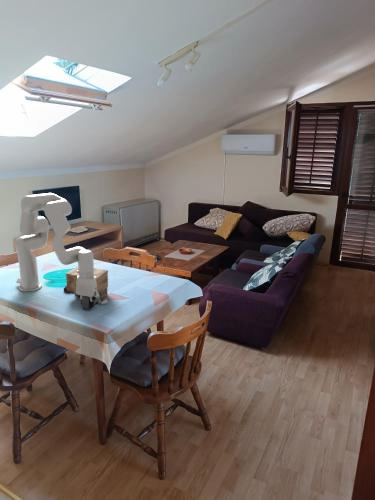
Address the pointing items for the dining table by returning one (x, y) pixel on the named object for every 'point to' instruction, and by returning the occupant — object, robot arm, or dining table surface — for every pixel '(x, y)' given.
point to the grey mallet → (87, 302)
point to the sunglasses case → (68, 291)
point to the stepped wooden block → (100, 280)
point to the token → (102, 301)
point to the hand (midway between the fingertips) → (87, 306)
